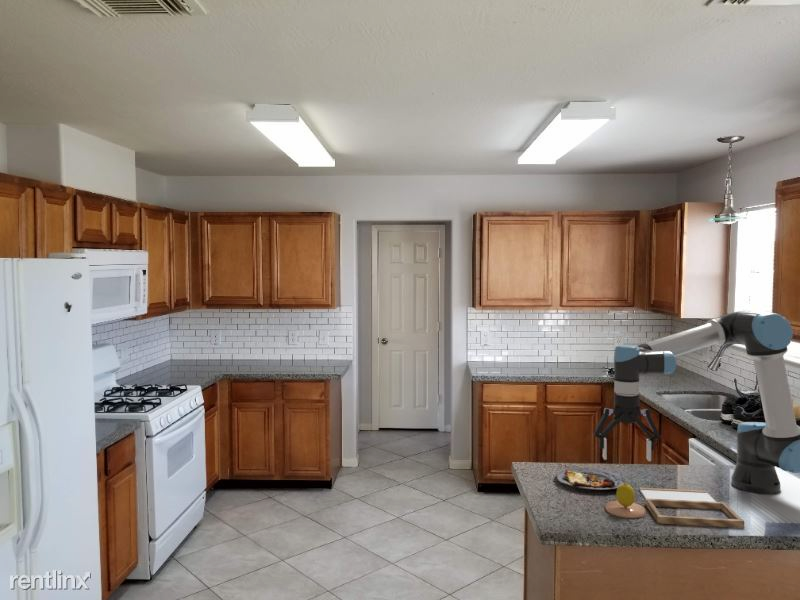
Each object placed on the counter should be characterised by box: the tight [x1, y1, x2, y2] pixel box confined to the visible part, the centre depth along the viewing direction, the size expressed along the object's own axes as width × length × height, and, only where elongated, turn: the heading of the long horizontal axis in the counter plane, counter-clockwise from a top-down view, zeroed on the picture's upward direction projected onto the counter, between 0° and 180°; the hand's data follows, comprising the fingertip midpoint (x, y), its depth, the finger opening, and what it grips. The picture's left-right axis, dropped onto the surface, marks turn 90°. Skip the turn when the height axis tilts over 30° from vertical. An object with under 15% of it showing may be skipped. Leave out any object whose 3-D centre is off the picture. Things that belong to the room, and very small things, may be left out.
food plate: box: [556, 466, 625, 491], centre depth 216 cm, size 25×23×4 cm
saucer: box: [605, 500, 646, 519], centre depth 189 cm, size 12×12×1 cm
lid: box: [638, 487, 717, 502], centre depth 199 cm, size 22×13×1 cm, turn 81°
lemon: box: [615, 482, 636, 508], centre depth 189 cm, size 6×6×8 cm
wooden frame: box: [644, 498, 745, 529], centre depth 185 cm, size 24×16×2 cm, turn 81°
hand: (626, 459), depth 189 cm, fingers open, 13 cm apart
